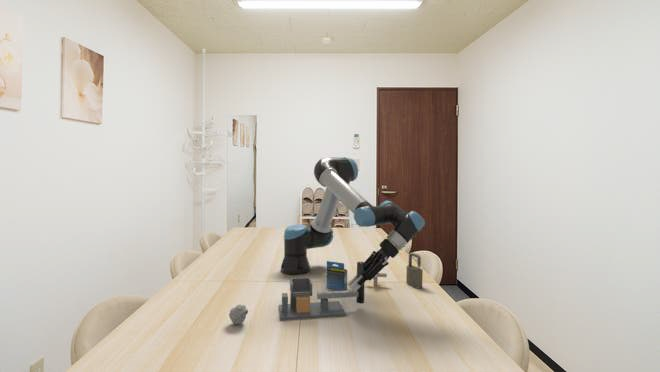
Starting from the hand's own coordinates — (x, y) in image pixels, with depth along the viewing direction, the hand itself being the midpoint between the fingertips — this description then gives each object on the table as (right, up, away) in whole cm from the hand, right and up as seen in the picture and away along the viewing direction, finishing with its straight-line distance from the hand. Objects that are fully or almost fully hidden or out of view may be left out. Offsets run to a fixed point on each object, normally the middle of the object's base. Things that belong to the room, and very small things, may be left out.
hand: (351, 288), depth 138 cm
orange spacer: (-18, -7, -3) cm, 20 cm away
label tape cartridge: (-5, -7, +24) cm, 25 cm away
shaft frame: (-15, -8, -2) cm, 17 cm away
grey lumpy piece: (-40, -9, -13) cm, 43 cm away
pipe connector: (+13, -7, +28) cm, 31 cm away
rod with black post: (-4, -6, 0) cm, 7 cm away
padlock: (+31, -7, +28) cm, 42 cm away
